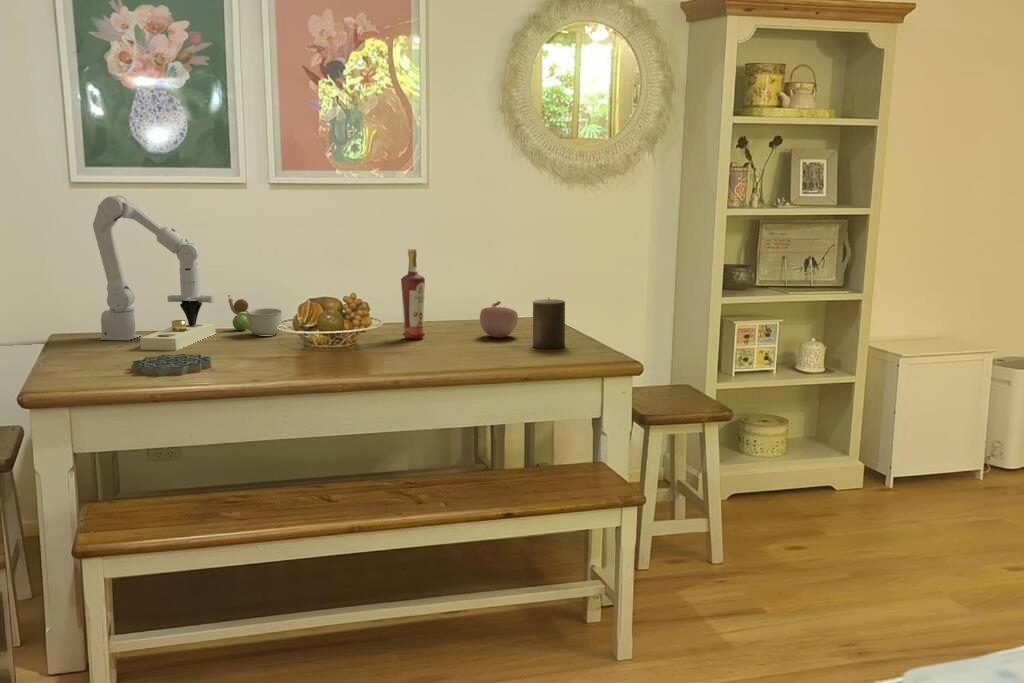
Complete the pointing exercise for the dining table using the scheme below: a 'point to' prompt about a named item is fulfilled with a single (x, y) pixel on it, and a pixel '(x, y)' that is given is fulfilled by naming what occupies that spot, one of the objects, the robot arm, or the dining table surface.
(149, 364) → the decorative tile
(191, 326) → the knob far
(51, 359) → the dining table surface
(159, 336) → the knob near
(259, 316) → the teacup
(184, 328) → the knob brass
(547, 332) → the pillar candle
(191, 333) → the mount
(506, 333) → the pink decorative apple
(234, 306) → the snail figurine
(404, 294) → the liquor
